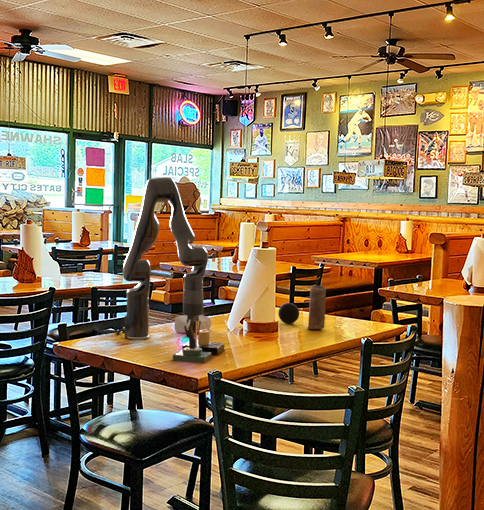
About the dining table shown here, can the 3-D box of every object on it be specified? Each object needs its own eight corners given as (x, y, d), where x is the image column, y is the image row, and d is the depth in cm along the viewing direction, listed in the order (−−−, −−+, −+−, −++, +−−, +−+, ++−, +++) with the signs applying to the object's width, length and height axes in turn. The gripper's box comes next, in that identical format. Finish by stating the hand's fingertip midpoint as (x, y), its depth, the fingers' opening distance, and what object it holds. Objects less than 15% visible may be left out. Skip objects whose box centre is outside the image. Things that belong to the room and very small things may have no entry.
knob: (207, 345, 267) (208, 331, 266) (196, 344, 268) (196, 331, 267) (210, 343, 271) (210, 329, 271) (199, 342, 272) (199, 329, 272)
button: (185, 353, 254) (185, 349, 254) (188, 351, 258) (189, 346, 258) (195, 354, 253) (196, 349, 253) (199, 352, 257) (199, 347, 257)
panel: (182, 353, 267) (182, 344, 266) (190, 347, 276) (190, 340, 276) (217, 355, 263) (217, 347, 263) (224, 350, 273) (224, 342, 272)
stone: (212, 330, 317) (212, 312, 313) (185, 346, 306) (185, 327, 301) (195, 321, 324) (195, 303, 319) (168, 337, 312) (168, 318, 307)
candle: (323, 328, 325) (325, 285, 323) (325, 331, 317) (327, 287, 316) (307, 327, 325) (308, 285, 323) (308, 330, 318) (310, 287, 316)
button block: (172, 360, 253) (172, 350, 253) (180, 355, 262) (180, 345, 262) (204, 363, 250) (204, 352, 250) (211, 358, 259) (211, 347, 259)
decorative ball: (303, 323, 335) (303, 303, 335) (289, 326, 329) (289, 305, 328) (287, 321, 343) (288, 300, 342) (273, 323, 336) (274, 302, 335)
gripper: (189, 298, 262) (188, 344, 263) (177, 303, 249) (176, 351, 250) (208, 299, 260) (207, 345, 261) (197, 304, 247) (196, 352, 248)
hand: (192, 348), depth 256 cm, fingers closed
